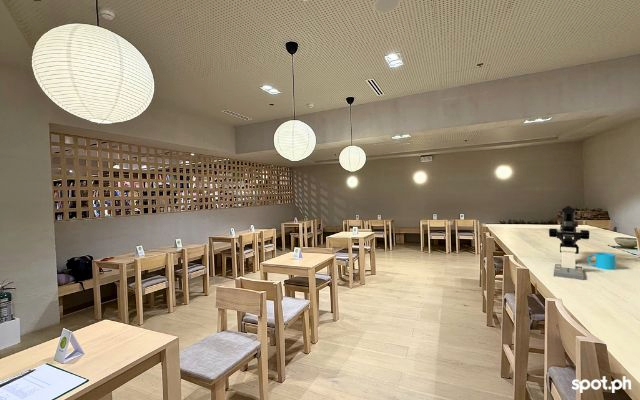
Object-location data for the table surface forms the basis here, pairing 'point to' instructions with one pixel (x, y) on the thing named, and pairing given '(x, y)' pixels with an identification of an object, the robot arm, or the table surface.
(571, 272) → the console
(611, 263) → the mug
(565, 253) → the cream lidded box
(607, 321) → the table surface
